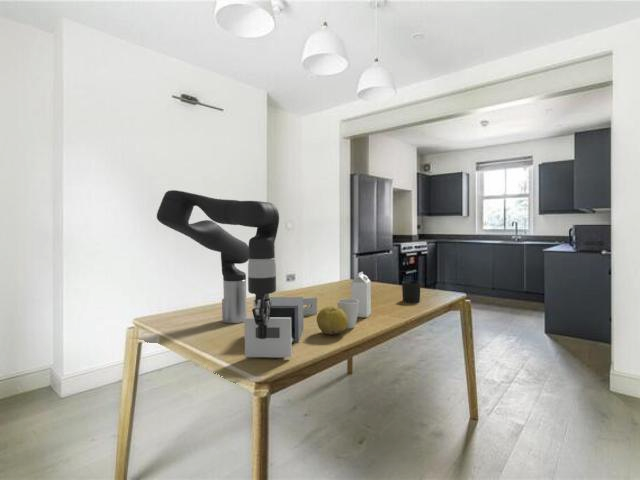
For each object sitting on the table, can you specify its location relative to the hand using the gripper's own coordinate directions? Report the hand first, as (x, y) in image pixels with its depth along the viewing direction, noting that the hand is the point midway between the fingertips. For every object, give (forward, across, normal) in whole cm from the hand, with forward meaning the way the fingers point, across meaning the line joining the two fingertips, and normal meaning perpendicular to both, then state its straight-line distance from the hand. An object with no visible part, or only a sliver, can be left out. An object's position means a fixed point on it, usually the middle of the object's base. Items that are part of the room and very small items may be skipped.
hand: (262, 337), depth 97 cm
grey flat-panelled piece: (+8, +14, 0) cm, 15 cm away
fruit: (+8, +32, -18) cm, 38 cm away
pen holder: (+8, +92, -58) cm, 109 cm away
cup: (+8, +42, -24) cm, 49 cm away
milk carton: (+8, +60, -30) cm, 68 cm away
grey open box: (+8, +30, 0) cm, 31 cm away
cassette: (+8, +60, -5) cm, 61 cm away
